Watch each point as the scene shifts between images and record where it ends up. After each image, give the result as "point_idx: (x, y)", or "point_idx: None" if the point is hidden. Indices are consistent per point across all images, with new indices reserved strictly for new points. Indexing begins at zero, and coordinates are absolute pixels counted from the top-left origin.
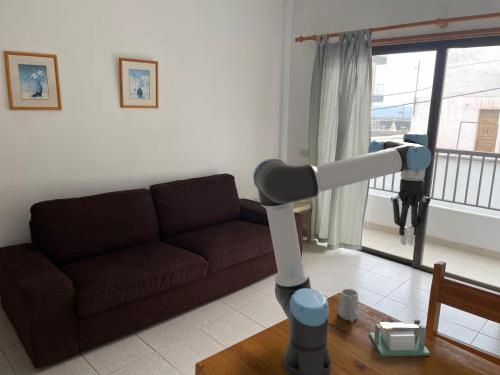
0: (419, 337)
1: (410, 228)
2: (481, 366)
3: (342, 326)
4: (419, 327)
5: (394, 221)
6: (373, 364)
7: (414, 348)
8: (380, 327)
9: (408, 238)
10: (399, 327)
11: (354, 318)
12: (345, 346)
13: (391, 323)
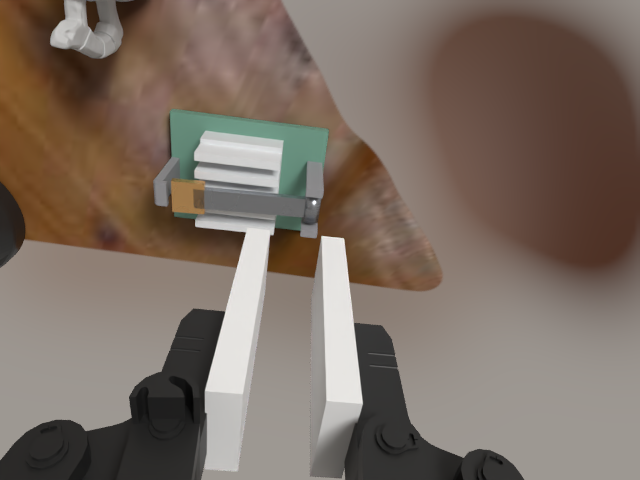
0: None
1: (315, 415)
2: (413, 279)
3: None
4: (304, 217)
5: (3, 469)
6: (143, 236)
7: None
8: (164, 204)
9: (318, 282)
10: (233, 211)
11: (114, 51)
12: (76, 154)
13: (227, 163)
